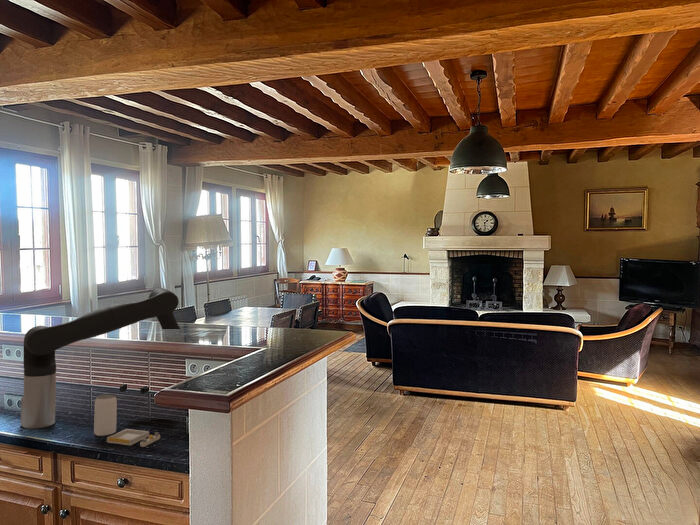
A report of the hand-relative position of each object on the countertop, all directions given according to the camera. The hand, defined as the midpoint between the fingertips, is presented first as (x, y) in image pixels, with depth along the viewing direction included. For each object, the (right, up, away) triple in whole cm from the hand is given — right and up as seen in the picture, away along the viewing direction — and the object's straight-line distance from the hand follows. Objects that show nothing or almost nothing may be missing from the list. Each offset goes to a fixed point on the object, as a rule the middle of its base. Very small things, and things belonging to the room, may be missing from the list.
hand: (130, 390), depth 170 cm
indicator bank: (+14, -11, -19) cm, 26 cm away
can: (-3, -11, -11) cm, 16 cm away
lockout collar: (+7, -11, -16) cm, 21 cm away
